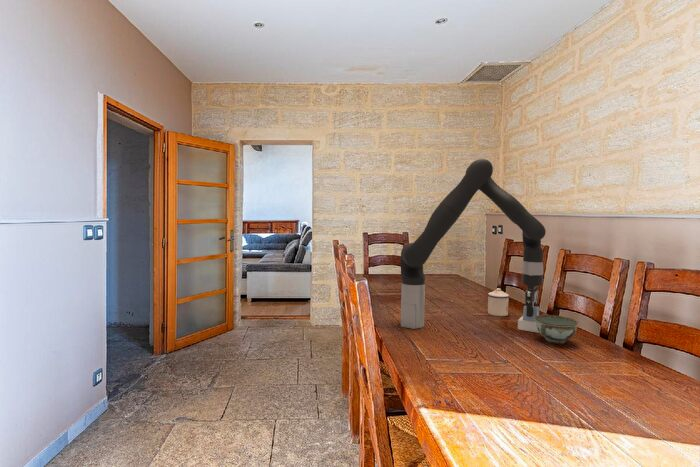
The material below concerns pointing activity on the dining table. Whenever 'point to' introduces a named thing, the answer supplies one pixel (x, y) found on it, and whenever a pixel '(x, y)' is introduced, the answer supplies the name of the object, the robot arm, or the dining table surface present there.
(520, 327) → the slab
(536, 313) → the cube
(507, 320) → the dining table surface
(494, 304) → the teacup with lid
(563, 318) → the bowl
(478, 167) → the robot arm
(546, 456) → the dining table surface
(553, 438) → the dining table surface
